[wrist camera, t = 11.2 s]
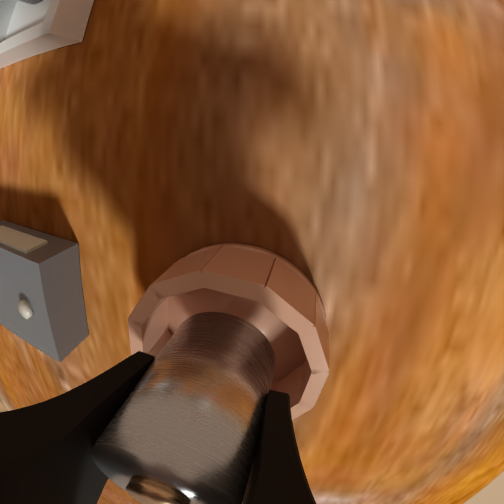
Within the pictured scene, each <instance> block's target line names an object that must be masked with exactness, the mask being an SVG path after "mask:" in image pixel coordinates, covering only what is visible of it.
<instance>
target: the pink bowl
mask: <svg viewBox="0 0 504 504" xmlns="http://www.w3.org/2000/svg"><path fill="white" fill-rule="evenodd" d="M203 312H223V313H228V314H232V315H235V316H237V317H240V318H242V319H244V320H246V321H248V322H249V323H251V324H253V325H254V326H255V327H256V328H258V329H259V330H260V331H261V332H262V333H263V334H264V335H265V336H266V338H267V339H268V340H269V342H270V344H271V345H272V348H273V350H274V354H275V360H276V363H275V370H274V374H273V379H272V384H271V388H270V390H274V391H279V392H284V393H288V394H289V396H290V407H291V416H292V420H293V419H295V418H297V417H298V416H300V415H302V414H303V413H305V412H307V411H309V410H310V409H312V408H313V407H314V405H315V403H316V401H317V398H318V396H319V394H320V392H321V390H322V388H323V385H324V383H325V381H326V379H327V376H328V374H329V336H328V329H327V326H326V315H325V310H324V306H323V303H322V301H321V298H320V296H319V294H318V292H317V290H316V289H315V287H314V285H313V284H312V283H311V281H310V280H309V279H308V278H307V276H306V275H305V274H304V273H303V272H302V271H301V270H300V269H299V268H297V267H296V266H295V265H294V264H292V263H291V262H290V261H288V260H287V259H285V258H283V257H281V256H280V255H278V254H276V253H274V252H271V251H269V250H267V249H264V248H261V247H257V246H254V245H248V244H242V243H221V244H214V245H210V246H206V247H203V248H200V249H198V250H195V251H193V252H192V253H190V254H188V255H187V256H185V257H184V258H181V259H179V260H178V261H177V262H175V263H174V264H173V265H172V266H171V267H170V268H169V269H168V270H166V271H165V272H164V273H163V274H162V275H161V276H160V277H159V278H157V279H156V280H155V281H154V282H153V283H152V284H151V285H150V286H149V287H148V289H147V290H146V292H145V293H144V295H143V296H142V298H141V299H140V301H139V302H138V304H137V305H136V307H135V308H134V310H133V311H132V313H131V314H130V316H129V317H128V325H129V336H130V347H131V355H133V354H135V353H136V352H138V351H142V352H144V353H147V354H150V355H153V356H155V359H156V357H157V356H158V354H159V353H160V352H161V350H162V349H163V348H164V346H165V345H166V343H167V342H168V341H169V339H170V338H171V337H172V335H173V334H174V332H175V331H176V330H177V328H178V327H179V326H180V325H181V323H182V322H183V321H185V320H186V319H187V318H189V317H191V316H193V315H195V314H198V313H203Z"/></svg>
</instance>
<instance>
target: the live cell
mask: <svg viewBox="0 0 504 504" xmlns="http://www.w3.org/2000/svg"><path fill="white" fill-rule="evenodd" d="M18 1H21V2H24V3H28V4H31V5H34V4H38V3H40V2H42V1H43V0H18Z"/></svg>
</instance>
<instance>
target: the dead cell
mask: <svg viewBox="0 0 504 504" xmlns="http://www.w3.org/2000/svg"><path fill="white" fill-rule="evenodd" d="M275 363H276V360H275V354H274V350H273V348H272V345H271V344H270V342H269V340H268V339H267V338H266V336H265V335H264V334H263V333H262V332H261V331H260V330H259V329H258V328H256V327H255V326H254V325H253V324H251V323H249V322H248V321H246V320H244V319H242V318H240V317H237V316H235V315H232V314H228V313H223V312H203V313H198V314H195V315H193V316H191V317H189V318H187V319H186V320H185V321H183V322H182V323H181V325H180V326H179V327H178V328H177V330H176V331H175V332H174V334H173V335H172V337H171V338H170V339H169V341H168V342H167V343H166V345H165V346H164V348H163V349H162V350H161V352H160V353H159V354H158V356H157V357H156V359H155V360H154V361H153V363H152V364H151V366H150V367H149V368H148V370H147V371H146V372H145V374H144V375H143V377H142V378H141V379H140V381H139V382H138V384H137V385H136V386H135V388H134V389H133V391H132V392H131V393H130V395H129V396H128V398H127V399H126V400H125V402H124V403H123V405H122V406H121V407H120V409H119V410H118V412H117V413H116V414H115V416H114V417H113V419H112V420H111V421H110V423H109V424H108V426H107V427H106V429H105V430H104V431H103V433H102V434H101V436H100V437H99V439H98V440H97V441H96V443H95V444H94V446H93V447H92V449H91V456H92V459H93V460H94V462H95V464H96V465H97V466H98V468H99V469H100V470H101V471H102V472H103V473H104V474H105V475H106V476H107V477H108V478H109V479H110V480H111V481H113V482H114V483H115V484H117V485H118V486H119V487H121V488H122V489H123V490H125V491H126V492H128V494H129V495H131V496H132V497H133V498H134V499H136V500H137V501H139V502H141V503H142V504H242V502H243V498H244V495H245V491H246V487H247V483H248V480H249V476H250V472H251V468H252V464H253V460H254V456H255V452H256V448H257V444H258V439H259V434H260V429H261V423H262V417H263V412H264V408H265V404H266V400H267V395H268V392H269V389H270V388H271V384H272V379H273V374H274V370H275Z"/></svg>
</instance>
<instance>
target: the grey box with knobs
mask: <svg viewBox="0 0 504 504" xmlns="http://www.w3.org/2000/svg"><path fill="white" fill-rule="evenodd" d="M0 324H2V325H3V326H4V327H6V328H7V329H9V330H10V331H11V332H13V333H14V334H16V335H17V336H19V337H20V338H22V339H23V340H25V341H26V342H28V343H29V344H31V345H32V346H34V347H36V348H37V349H39V350H40V351H42V352H44V353H45V354H47V355H49V356H50V357H52V358H54V359H55V360H57V361H59V362H61V361H62V360H63V359H64V358H65V357H66V356H67V355H68V354H69V353H70V352H71V351H73V350H74V349H75V348H76V347H77V346H78V345H79V344H80V343H81V342H82V341H83V340H84V339H85V338H86V337H87V336H88V335H89V331H88V326H87V319H86V313H85V306H84V299H83V291H82V282H81V272H80V260H79V245H78V243H76V242H72V241H69V240H66V239H62V238H59V237H56V236H53V235H49V234H46V233H43V232H40V231H36V230H33V229H30V228H27V227H24V226H21V225H17V224H14V223H11V222H8V221H5V220H1V221H0Z"/></svg>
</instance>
